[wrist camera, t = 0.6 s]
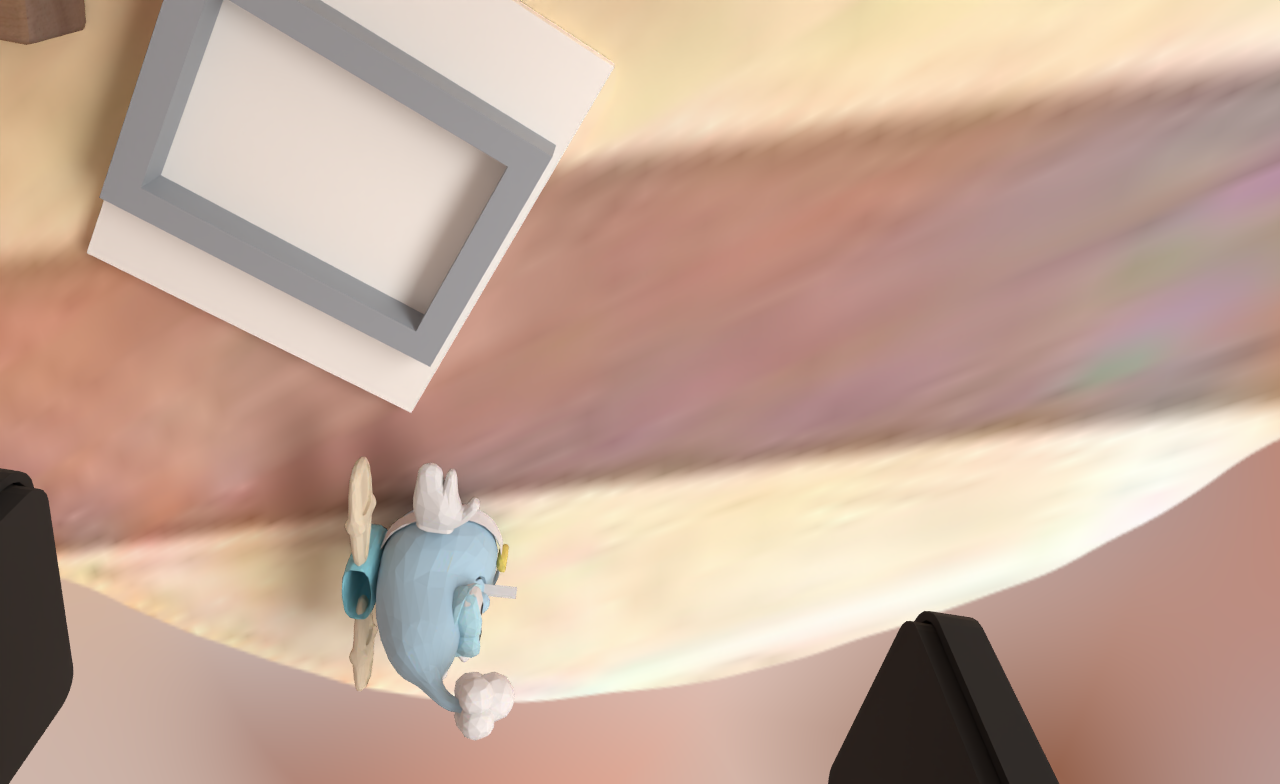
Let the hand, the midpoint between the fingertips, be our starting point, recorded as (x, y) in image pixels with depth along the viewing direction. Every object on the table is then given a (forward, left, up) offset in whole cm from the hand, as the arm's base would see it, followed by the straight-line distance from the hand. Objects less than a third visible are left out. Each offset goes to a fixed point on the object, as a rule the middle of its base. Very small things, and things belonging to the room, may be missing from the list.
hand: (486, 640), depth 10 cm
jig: (+11, -8, -36) cm, 38 cm away
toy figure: (+29, +7, -36) cm, 47 cm away
